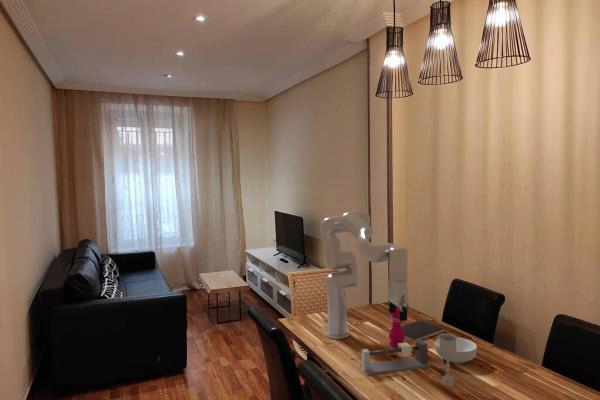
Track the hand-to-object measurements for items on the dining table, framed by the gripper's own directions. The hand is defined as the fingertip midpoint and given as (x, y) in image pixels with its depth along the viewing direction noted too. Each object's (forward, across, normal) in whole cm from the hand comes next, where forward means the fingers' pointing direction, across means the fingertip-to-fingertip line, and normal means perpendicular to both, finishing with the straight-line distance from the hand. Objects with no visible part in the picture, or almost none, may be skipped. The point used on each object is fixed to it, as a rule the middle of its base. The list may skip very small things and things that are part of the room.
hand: (397, 316), depth 175 cm
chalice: (+21, +19, +12) cm, 30 cm away
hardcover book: (+22, -31, +26) cm, 46 cm away
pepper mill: (+22, -18, +9) cm, 30 cm away
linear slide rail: (+21, +1, -2) cm, 21 cm away
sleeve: (+16, +1, +2) cm, 16 cm away
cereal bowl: (+21, +2, +26) cm, 34 cm away
